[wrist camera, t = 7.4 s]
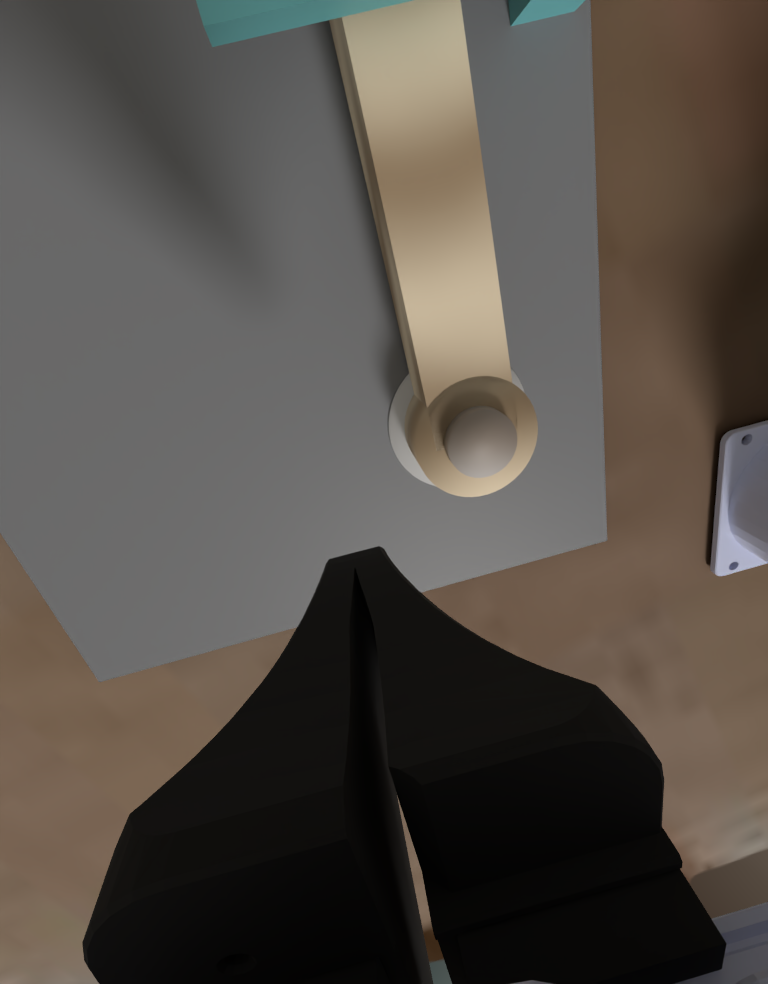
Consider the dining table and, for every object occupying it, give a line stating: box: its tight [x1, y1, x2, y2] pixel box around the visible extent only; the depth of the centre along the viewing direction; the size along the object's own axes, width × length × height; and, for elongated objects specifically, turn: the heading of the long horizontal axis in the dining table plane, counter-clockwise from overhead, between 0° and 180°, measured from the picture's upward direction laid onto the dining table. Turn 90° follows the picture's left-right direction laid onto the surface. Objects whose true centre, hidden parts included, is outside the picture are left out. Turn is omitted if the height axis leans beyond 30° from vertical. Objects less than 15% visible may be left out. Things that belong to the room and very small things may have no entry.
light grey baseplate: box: [0, 0, 607, 682], centre depth 17 cm, size 24×25×1 cm
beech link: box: [329, 0, 538, 497], centre depth 15 cm, size 17×4×3 cm, turn 14°
